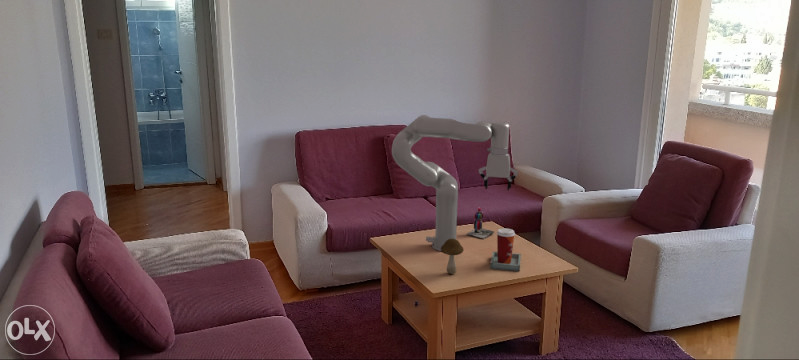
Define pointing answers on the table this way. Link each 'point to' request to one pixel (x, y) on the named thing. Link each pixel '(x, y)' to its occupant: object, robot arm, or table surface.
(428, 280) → the table surface
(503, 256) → the paper cup
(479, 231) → the statue
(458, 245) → the mushroom
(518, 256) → the tray
